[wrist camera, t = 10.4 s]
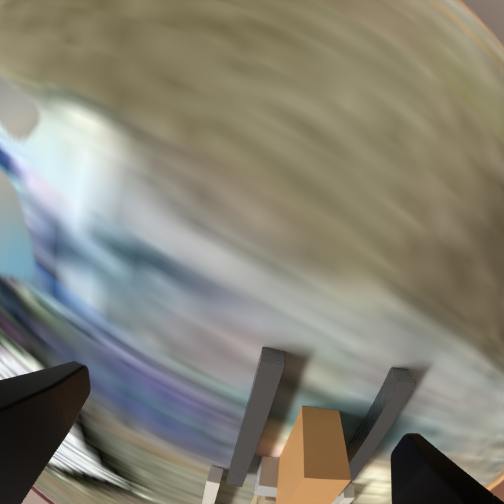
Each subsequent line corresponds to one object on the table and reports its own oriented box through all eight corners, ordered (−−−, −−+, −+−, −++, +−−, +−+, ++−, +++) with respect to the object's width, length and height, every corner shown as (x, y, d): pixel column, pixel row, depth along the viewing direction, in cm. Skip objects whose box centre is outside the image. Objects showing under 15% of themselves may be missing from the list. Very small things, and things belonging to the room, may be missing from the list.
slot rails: (407, 369, 19) (415, 383, 17) (337, 483, 22) (339, 496, 20) (262, 347, 19) (260, 361, 18) (228, 469, 23) (225, 483, 21)
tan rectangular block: (356, 412, 20) (372, 479, 13) (319, 473, 22) (322, 531, 15) (282, 402, 20) (278, 474, 13) (258, 466, 22) (249, 526, 15)
